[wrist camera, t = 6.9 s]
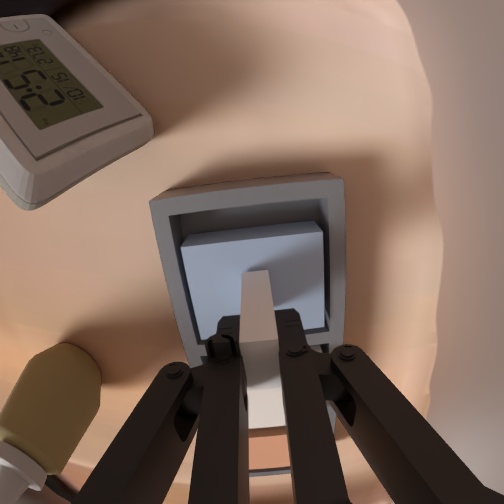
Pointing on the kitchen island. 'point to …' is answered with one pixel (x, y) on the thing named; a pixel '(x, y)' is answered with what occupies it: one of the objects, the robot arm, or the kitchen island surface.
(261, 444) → the terracotta key
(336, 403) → the robot arm
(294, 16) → the kitchen island surface
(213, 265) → the slate key
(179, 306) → the grey compartment tray
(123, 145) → the digital clock
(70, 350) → the squeeze bottle
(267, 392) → the off-white key
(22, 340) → the kitchen island surface
